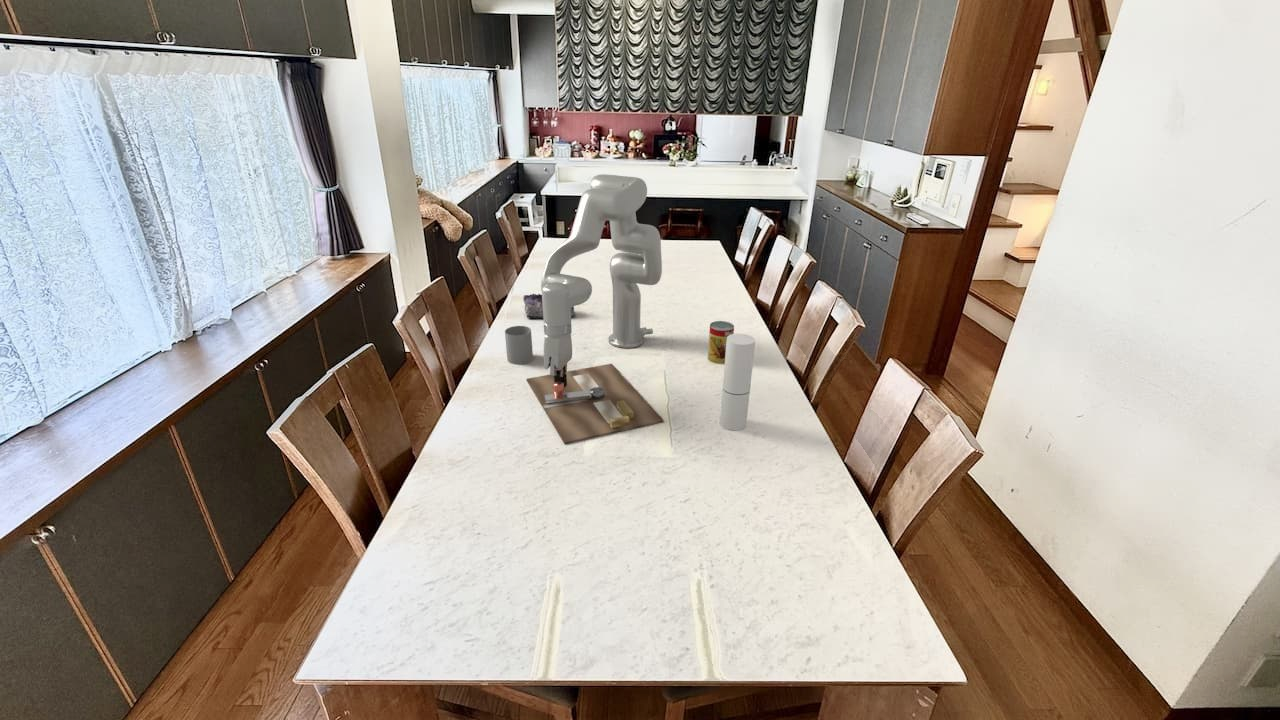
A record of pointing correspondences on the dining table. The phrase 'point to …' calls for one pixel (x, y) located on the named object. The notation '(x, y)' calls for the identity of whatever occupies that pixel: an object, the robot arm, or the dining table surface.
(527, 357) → the cup
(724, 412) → the cylindrical container
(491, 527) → the dining table surface
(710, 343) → the canned food
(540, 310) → the geode
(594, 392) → the arm
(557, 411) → the board
